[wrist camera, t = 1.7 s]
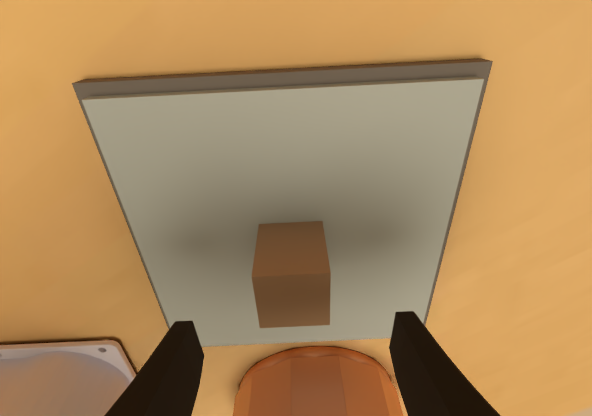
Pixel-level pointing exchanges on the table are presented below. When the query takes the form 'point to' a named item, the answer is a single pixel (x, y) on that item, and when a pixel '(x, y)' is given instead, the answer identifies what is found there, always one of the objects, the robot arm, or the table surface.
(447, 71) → the mat
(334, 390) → the bowl
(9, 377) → the robot arm
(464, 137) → the lid
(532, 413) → the table surface
